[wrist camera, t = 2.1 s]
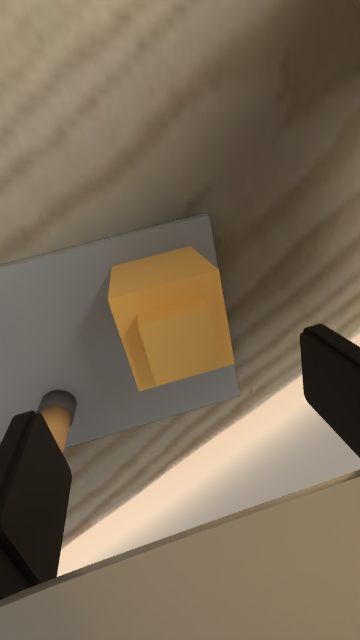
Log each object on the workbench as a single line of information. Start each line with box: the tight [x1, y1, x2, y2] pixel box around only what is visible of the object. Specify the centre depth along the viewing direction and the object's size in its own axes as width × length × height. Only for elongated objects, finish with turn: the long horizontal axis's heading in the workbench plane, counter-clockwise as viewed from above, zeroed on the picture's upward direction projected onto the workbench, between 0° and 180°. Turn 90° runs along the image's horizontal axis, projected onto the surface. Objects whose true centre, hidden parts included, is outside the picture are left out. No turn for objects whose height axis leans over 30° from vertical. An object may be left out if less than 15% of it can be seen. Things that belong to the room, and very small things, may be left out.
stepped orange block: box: [108, 246, 235, 391], centre depth 17 cm, size 5×5×8 cm
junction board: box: [0, 214, 240, 454], centre depth 20 cm, size 18×14×6 cm
